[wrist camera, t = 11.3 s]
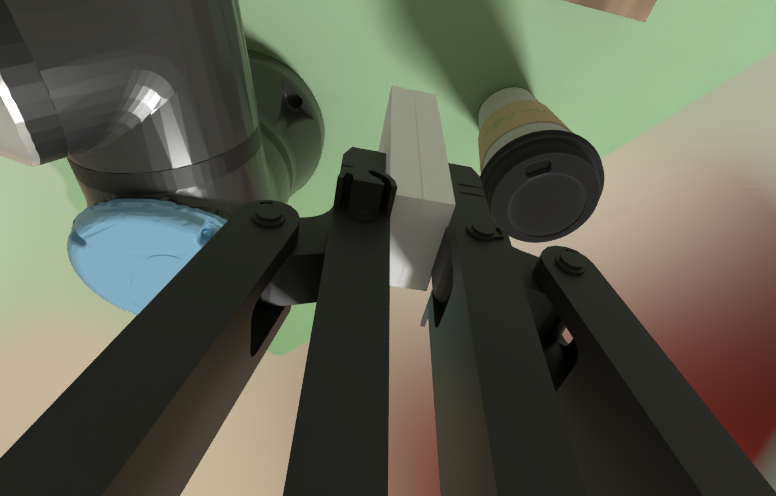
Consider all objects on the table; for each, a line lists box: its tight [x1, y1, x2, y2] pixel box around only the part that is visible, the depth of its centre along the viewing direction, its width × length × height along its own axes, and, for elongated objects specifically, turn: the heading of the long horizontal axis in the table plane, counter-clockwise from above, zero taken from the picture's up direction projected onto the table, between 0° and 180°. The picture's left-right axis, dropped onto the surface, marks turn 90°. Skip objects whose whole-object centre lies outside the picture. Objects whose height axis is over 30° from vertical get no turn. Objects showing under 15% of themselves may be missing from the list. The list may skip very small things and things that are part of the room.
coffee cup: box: [478, 87, 604, 243], centre depth 41 cm, size 9×9×15 cm
